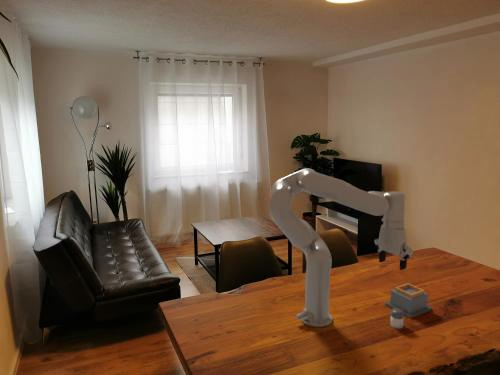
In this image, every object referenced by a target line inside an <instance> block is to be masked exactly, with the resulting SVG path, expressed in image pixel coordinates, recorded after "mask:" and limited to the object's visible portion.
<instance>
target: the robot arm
mask: <svg viewBox="0 0 500 375" xmlns="http://www.w3.org/2000/svg"><path fill="white" fill-rule="evenodd" d="M302 192H305V193H308V194H310V195H314V196H317V197H320V198H323V199H326V200H330V201H332V202H335V203H338V204H339V205H343V206H345V207H349V208H352V209H353V210H356V211H360V212H363V213H366V214H369V215H372V216H376V217H377V216H378V217H380V216H383V217H382V218H381V222H383V223H382V224H381V226H380V230H379V236H378V238H375V239H374V240H373V241H374V244H375V248H376V249H377V253H378V262H379V263H380V264H381V263H383V262H386V256H387V255H386V254H387V253H389V254H392V255H395V256H399V258H400V260H399V270H400V271H402V270H403V271H404V270H405V269H407V264H408V262H407V261H408V260H409V259H410V258H411V257H412V255H413V253H414V250H413V249H412V248H411V247H409V245H408V243H407V238H408V237H407V232H406V228H405V209H406V208H405V207H406V206H405V205H406V202H405V201H406V196H405V194H404V193H403V192H402V191H395V190H393V191H377V190H376V191H375V190H370V191H366V190H363V189H360V188H358V187H356V186H354V185H352V184H351V183H348V182H346V181H345V180H343V179H341V178H340V179H339V178H335V177H333V176H329V175H326V174H324V173H320V172H317V171H315V170H314V169H312V168H308V167H305V168H302V169H300V170H298V171H296V172H293V173H290V174H289V175H287V176H284V177H282V178H280V179H278V180H276V181H275V182H274V183H273V184H272V186H271V188H270V193H271V194H270V198H269V202H268V213H269V216H270V217H271V219H272V221H273V222H274V224H275V225H276V226H277V227H278V228H279V229H280V231H281V232H282V233H283V234H284V235H285V237H286V238H287V239H288V240H289V242H290V243H291V244H292V245H293V246H294V247H295V248H297V249H300V250H301V251H302V253H303V254H304V256H305V260H306V268H305V269H306V270H305V290H304V291H305V295H304V296H305V297H304V298H305V300H304V305H305V306H304V308H303V309H302V312H300V313H297V314H295V316H294V317H295V319H296V320H297V321H299V320H301V321H302V322H303V323H304V324H305V325H308V326H309V327H314V328H315V327H316V328H323V327H327V326H330V325H331V324H332V322H333V316H332V313H329V311H330V289H331V288H330V287H331V286H330V280H331V270H332V260H333V259H332V255H331V252H330V250H329V248H328V246H327V244H326V242H325V241H324V240H323V238H322V237H321V236H320V235H319V234H318V233H317V232H316V230H314V229H315V228H313V227H312V225H310V223H308V222H307V221H306V220H305V219H302V218H300V217H299V216H298V215H297V213H296V212H295V211H294V210H293V209H292V202H293V201H294V196H295V195H298V194H300V193H302Z"/></svg>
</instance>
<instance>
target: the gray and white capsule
mask: <svg viewBox="0 0 500 375" xmlns="http://www.w3.org/2000/svg"><path fill="white" fill-rule="evenodd" d="M390 309H391V310H390V323H389V324H390V326H391V327H392V328H393V329H403V327H404V321H405V320H404V319H405V315H404V311H403V310H401V309H398V308H393V309H392V308H390Z"/></svg>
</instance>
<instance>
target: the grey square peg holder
mask: <svg viewBox="0 0 500 375" xmlns="http://www.w3.org/2000/svg"><path fill="white" fill-rule="evenodd" d="M428 299H429V293H427V292H425V290H424V289H422V288H421V287H418V286H415V285H413V284H412V283H409V282H407V283H404V284H401V285H398V286H394V289H392V290H391V291H390V300H389V301H387V302H385V303H384V306H386V307H388V308H390V309H393V308H398V309H401V310H403V311H404V317H407V318H409V319H412V318H414V317H418V316H420V315H422V314H425V313H426V312H427V313H428V312H429V311H432V310H433V307H432V306H430V305H428Z"/></svg>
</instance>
